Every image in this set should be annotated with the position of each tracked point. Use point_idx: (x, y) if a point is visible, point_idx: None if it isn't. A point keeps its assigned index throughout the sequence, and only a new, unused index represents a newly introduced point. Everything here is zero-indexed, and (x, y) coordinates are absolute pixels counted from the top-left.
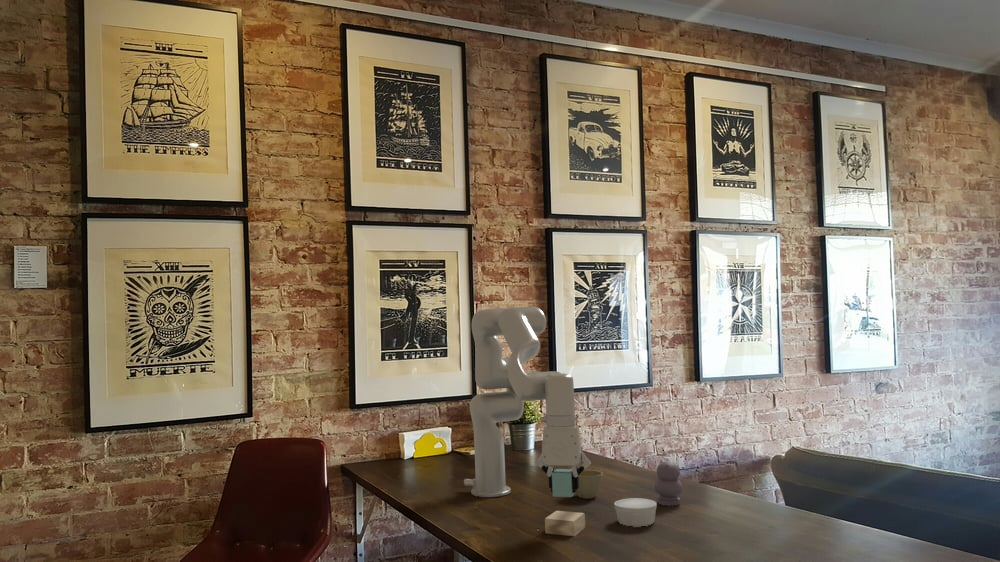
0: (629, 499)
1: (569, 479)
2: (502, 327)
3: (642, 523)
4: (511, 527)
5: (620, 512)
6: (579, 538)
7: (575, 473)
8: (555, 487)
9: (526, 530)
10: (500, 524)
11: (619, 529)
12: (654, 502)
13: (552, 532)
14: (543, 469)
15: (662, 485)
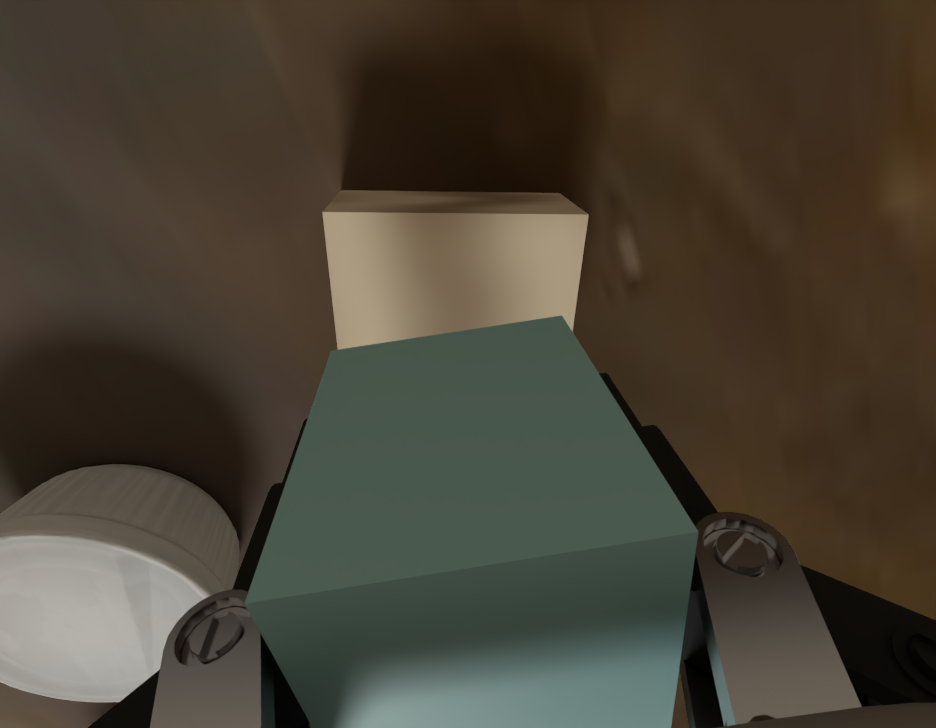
0: None
1: (308, 498)
2: None
3: (35, 488)
4: (810, 241)
5: (139, 518)
6: (282, 147)
7: (216, 666)
8: (548, 375)
9: (700, 209)
10: (886, 278)
11: (149, 407)
12: None
13: (508, 193)
14: (924, 631)
15: None
